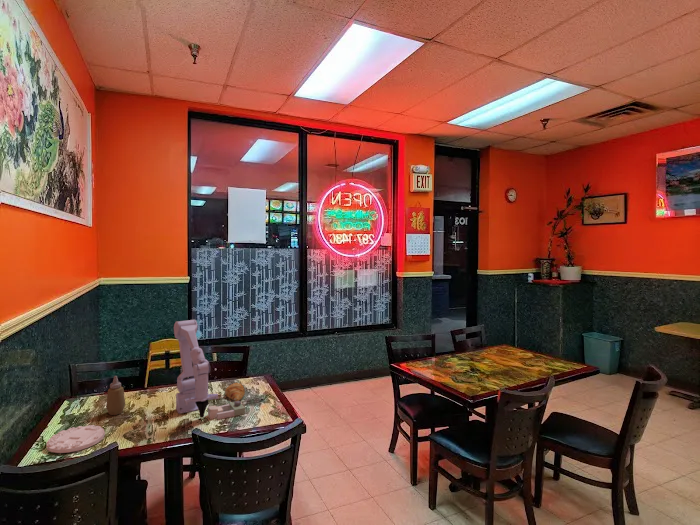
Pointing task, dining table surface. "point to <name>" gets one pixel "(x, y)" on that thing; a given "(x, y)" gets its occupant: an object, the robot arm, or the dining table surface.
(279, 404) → the dining table surface
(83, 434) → the embossed medallion
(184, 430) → the dining table surface
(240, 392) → the croissant
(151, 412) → the dining table surface
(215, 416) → the pink stepped block
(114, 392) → the squeeze bottle
